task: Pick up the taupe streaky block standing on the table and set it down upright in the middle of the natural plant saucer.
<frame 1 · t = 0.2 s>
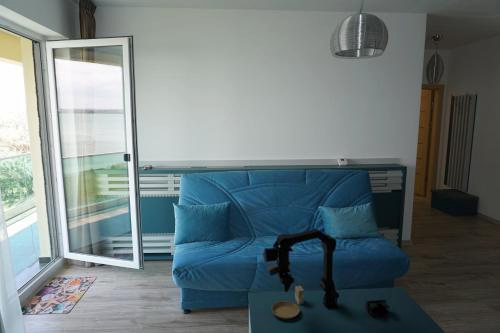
hand: (283, 287, 174), 14 cm above the table, fingers open, 9 cm apart
end cap: (376, 313, 175), on the table
taupe streaky block: (299, 301, 186), on the table
plant saucer: (285, 313, 175), on the table
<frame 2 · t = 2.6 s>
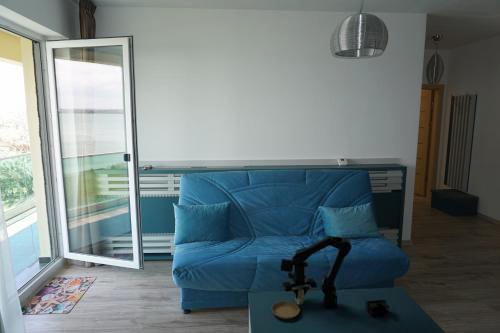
hand: (299, 298, 186), 2 cm above the table, fingers closed on taupe streaky block, 3 cm apart
taupe streaky block: (299, 301, 186), on the table, touching gripper
everything else where it was.
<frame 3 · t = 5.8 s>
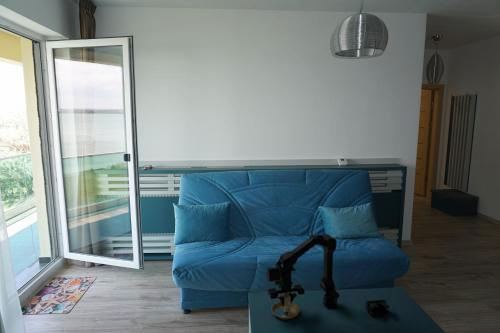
hand: (285, 306, 175), 4 cm above the table, fingers closed on taupe streaky block, 3 cm apart
taupe streaky block: (285, 308, 175), point 2 cm above the table, touching gripper, plant saucer
plant saucer: (285, 314, 175), on the table, touching taupe streaky block
everything else where it was.
when the fingers open (4 cm above the table, at t = 5.8 s): taupe streaky block stays where it is, resting on plant saucer.
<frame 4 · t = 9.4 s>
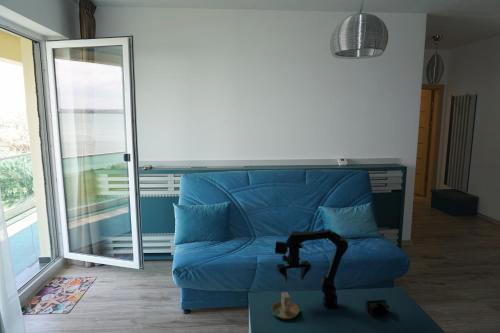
hand: (293, 281, 184), 12 cm above the table, fingers open, 9 cm apart
taupe streaky block: (285, 308, 175), point 2 cm above the table, touching plant saucer
everything else where it was.
at the end: taupe streaky block 0.1 cm from the plant saucer (horizontally); taupe streaky block tilted 0°; the gripper is holding nothing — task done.
